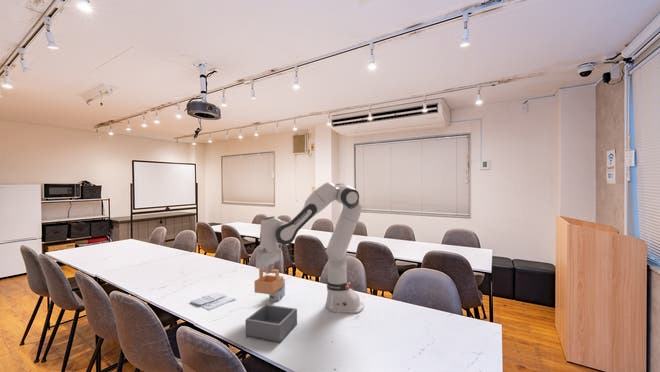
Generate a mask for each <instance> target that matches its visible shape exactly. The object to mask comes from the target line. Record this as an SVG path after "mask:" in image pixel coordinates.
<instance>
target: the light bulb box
mask: <svg viewBox="0 0 660 372" xmlns="http://www.w3.org/2000/svg"><path fill="white" fill-rule="evenodd" d="M285 295H286V280H285V278H283V288H282V289H281V290H279V291H278V292H276V293H275V294H273V295H270V294H268V300H269V301H272V302H273V301H275V302H280V300H283V298H284V296H285Z"/></svg>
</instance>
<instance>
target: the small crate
mask: <svg viewBox="0 0 660 372" xmlns="http://www.w3.org/2000/svg"><path fill="white" fill-rule="evenodd" d="M268 269H269V268H268ZM269 270H270V273H269V274H265V275H264V273H265V269H264V268H263V269H258V272H259V273H258V274H259V275H258V276H259V277H258V278H257V279H256V280H254V293H257V294H264V295H269V294H270V295H273V294H275V293H276V292H278V291H279V290H281V289H282V288H283V279H284V276H281V275H280V269H275V268H273V269H269ZM273 274H275V275H273Z"/></svg>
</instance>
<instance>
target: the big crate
mask: <svg viewBox="0 0 660 372" xmlns="http://www.w3.org/2000/svg"><path fill="white" fill-rule="evenodd" d="M244 322H245V338H248V337H249V339H254V340H259V341H265V342H271V343H275V342H276V343H277V344H281V343H282V342H283V341H284V340H285V338H286V337H288V335H289V334H290V333H291V332H292V331H293V330H294V329H295V328H296V326H297V325H298V309H297V308H295V307H287V306H279V305H272V304H265V305H263V306H262V307H261V308H260V309H258V310H256V311H255V312H254V313H253V314H251V315H249V317H247V318H246V319H245V321H244Z"/></svg>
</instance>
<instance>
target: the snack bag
mask: <svg viewBox="0 0 660 372" xmlns="http://www.w3.org/2000/svg"><path fill="white" fill-rule="evenodd" d="M236 299H237V298H234V297H231V296H227V295H226V294H223V293H220V292H218V291H214V292H212V293H210V294H207V295H204V296H202V297H199V298H195V299H194V300H191V301H189V302H190V304H192V305H195V306H198V307H199V308H202V309H205V310H207V311H211V310H214V309H216V308H218V307H221V306H224V305H227V304H229V303H231V302H234V301H236Z"/></svg>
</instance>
